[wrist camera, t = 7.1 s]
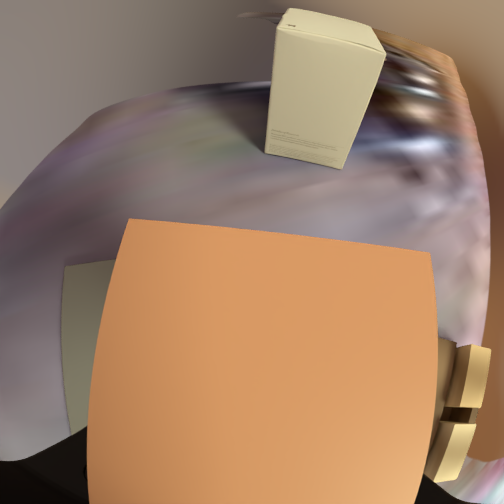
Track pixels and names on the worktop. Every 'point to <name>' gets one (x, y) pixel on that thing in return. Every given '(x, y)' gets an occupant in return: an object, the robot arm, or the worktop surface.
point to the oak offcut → (468, 377)
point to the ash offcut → (448, 450)
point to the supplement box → (320, 86)
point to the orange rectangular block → (261, 370)
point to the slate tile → (81, 332)
